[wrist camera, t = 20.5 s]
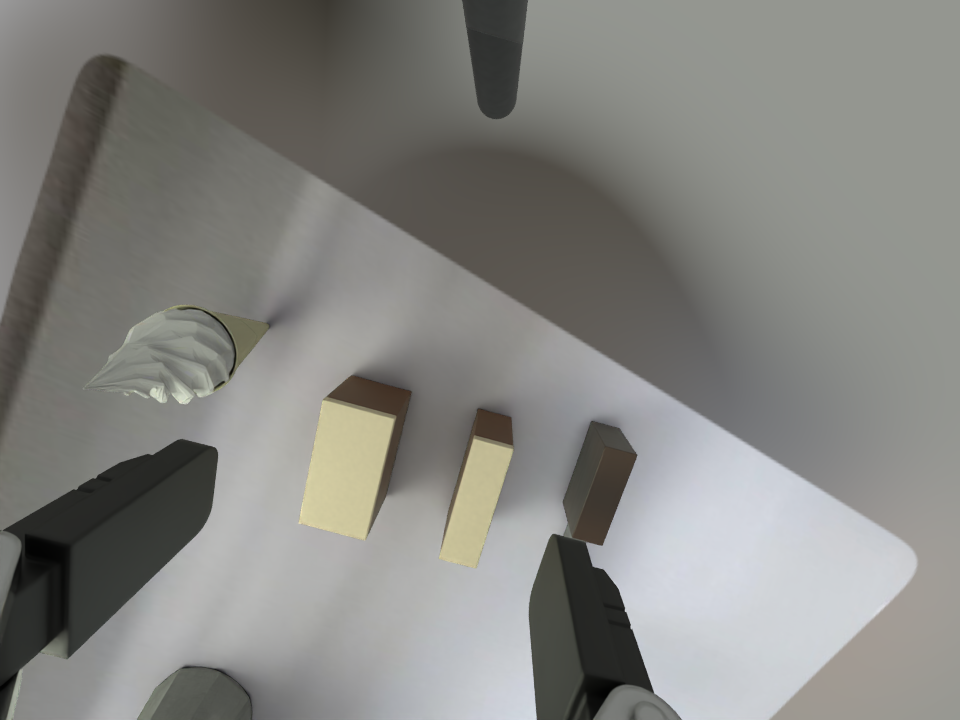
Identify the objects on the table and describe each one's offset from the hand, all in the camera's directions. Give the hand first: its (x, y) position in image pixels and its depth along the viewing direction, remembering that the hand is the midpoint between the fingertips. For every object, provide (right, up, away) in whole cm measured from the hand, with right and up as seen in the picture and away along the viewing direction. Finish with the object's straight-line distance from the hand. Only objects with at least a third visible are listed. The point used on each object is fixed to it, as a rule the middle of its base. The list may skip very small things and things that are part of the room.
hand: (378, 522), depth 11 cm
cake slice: (+2, -4, +24) cm, 24 cm away
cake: (-6, -2, +24) cm, 25 cm away
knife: (+10, -8, +25) cm, 28 cm away
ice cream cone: (-13, +6, +22) cm, 27 cm away
